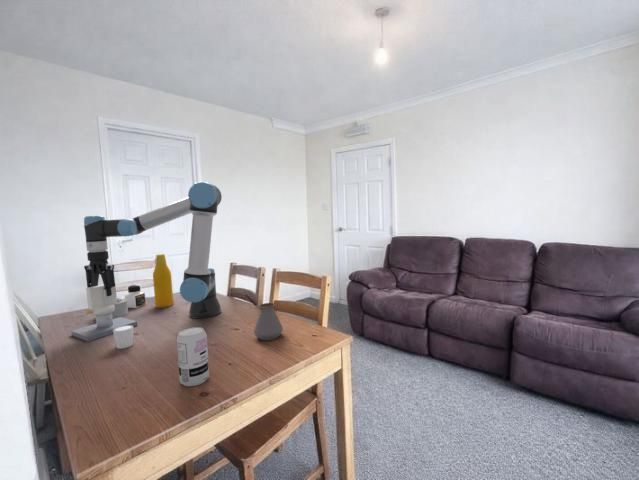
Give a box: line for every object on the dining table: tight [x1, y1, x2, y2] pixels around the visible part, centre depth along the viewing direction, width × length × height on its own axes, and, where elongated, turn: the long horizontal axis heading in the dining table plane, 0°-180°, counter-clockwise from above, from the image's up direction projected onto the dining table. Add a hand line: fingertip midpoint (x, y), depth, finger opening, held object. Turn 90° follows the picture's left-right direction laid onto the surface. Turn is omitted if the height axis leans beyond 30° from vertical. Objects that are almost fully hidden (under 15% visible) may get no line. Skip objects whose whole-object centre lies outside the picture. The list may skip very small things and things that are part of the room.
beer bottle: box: [152, 253, 174, 309], centre depth 177 cm, size 9×9×29 cm
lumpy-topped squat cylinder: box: [112, 297, 129, 319], centre depth 162 cm, size 10×13×9 cm
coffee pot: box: [242, 294, 284, 341], centre depth 128 cm, size 21×12×15 cm, turn 46°
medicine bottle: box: [124, 284, 146, 309], centre depth 179 cm, size 7×7×12 cm
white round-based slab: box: [85, 284, 118, 316], centre depth 139 cm, size 12×8×12 cm
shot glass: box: [113, 325, 134, 350], centre depth 122 cm, size 7×7×7 cm
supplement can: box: [175, 326, 210, 387], centre depth 93 cm, size 8×8×15 cm
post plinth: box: [70, 312, 138, 342], centre depth 141 cm, size 15×20×8 cm
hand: (102, 302), depth 140 cm, fingers closed on white round-based slab, 5 cm apart
